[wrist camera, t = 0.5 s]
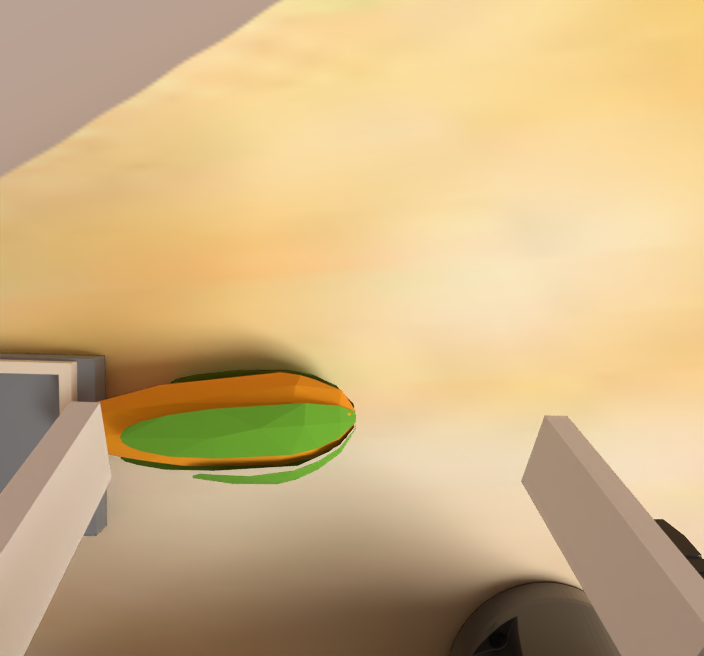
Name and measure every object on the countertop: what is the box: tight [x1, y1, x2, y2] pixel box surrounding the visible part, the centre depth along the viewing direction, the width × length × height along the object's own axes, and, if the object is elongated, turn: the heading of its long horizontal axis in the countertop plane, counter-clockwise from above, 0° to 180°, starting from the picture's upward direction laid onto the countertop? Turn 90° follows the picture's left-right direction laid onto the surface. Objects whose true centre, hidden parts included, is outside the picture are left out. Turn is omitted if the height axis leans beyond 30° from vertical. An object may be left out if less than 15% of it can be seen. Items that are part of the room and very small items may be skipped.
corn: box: [98, 370, 356, 484], centre depth 31 cm, size 7×8×20 cm
